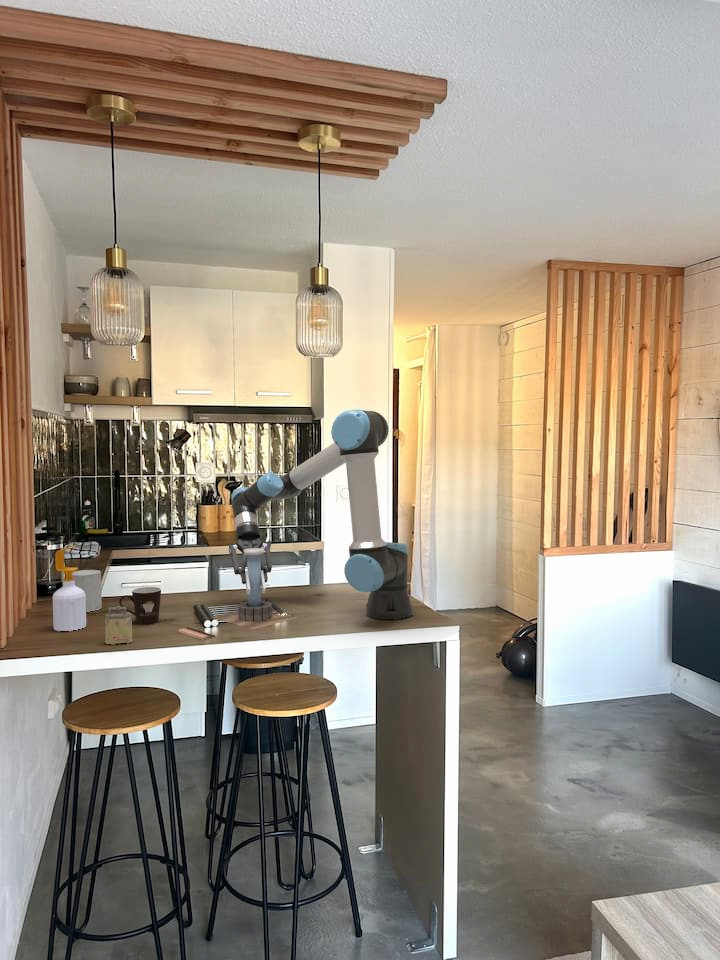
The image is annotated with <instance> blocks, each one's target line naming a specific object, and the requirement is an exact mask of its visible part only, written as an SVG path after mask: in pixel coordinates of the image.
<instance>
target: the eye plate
mask: <svg viewBox="0 0 720 960" xmlns="http://www.w3.org/2000/svg"><path fill="white" fill-rule="evenodd" d="M237 610H238V611H237ZM237 610H236V611H234V612H229V613H225V614H221V615H220V614H219V615H216V616H212V617H211V618H212V619H214V620H219V621H222V622H224V623H228V624H233V625H236V626H238V627H239V626H240V627H243V628H246V629H250V630H257V629H261V628H264V627H267V626H272V625H277V624H279V623H283V622H288V621H291V620H295V619H299V618H300V616H295V615H291V614H287V613H284V614H285V615H284V616H283V615H282V616H281V615H278V614H279V613H281V612H279V611H277V610H273V603H272V602H270V601H265V600H261V606H258V607H249V606H248V600H247V601H243V602H240V603H238V605H237Z"/></svg>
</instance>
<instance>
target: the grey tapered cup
mask: <svg viewBox="0 0 720 960" xmlns="http://www.w3.org/2000/svg"><path fill="white" fill-rule="evenodd" d="M72 577H73V578H75V586H77V587H79V588H81V589H82V590H83V591H84V592H85V595H86V612H90V611H95V610H99V609H101V608H102V609H103V607H102V606H103V605H102V604H103V603H102V601H103V600H102V571H101V570H98V569H82V570H75V571H73V573H72ZM102 609H101V610H102ZM99 611H100V610H99ZM95 612H96V611H95ZM90 613H91V612H90Z"/></svg>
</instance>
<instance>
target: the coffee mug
mask: <svg viewBox="0 0 720 960" xmlns="http://www.w3.org/2000/svg"><path fill="white" fill-rule="evenodd" d="M131 594H132V595H128V594H127V595H123V596H122V597H120V599H119V601H118V603H119V606H121V607H124V605H122V601H123V599H125V598H129V599H130V600H131V602H132V603H133V608H134V611H132V610H130V609H128V608H126V612H129V613H131V615H134V617H135V623H136V624H137V625H141V626H148V625H154V624H157V623H159V618H160V617H159V616H160V606H161V596H162V588H161V587H159V586H142V587H137V588H134V589H131Z"/></svg>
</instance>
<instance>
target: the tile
mask: <svg viewBox="0 0 720 960" xmlns="http://www.w3.org/2000/svg"><path fill="white" fill-rule="evenodd" d="M178 633H180V634H182V635H185V636H189V637H190V638H191V637H192V638H195V639H198V640H200V639H201V640H200V641H205V639H206V640H209V638H210V639H212V637H214V638H216V637H215V636H216V635H215V634H210V633H206V632H204V631H201V630H198V629H194V628H191V627H189V626H188V627H183V628H178Z"/></svg>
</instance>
